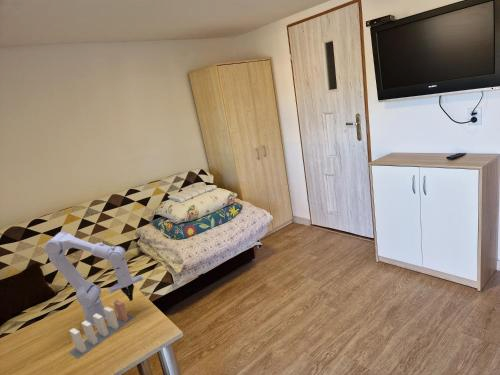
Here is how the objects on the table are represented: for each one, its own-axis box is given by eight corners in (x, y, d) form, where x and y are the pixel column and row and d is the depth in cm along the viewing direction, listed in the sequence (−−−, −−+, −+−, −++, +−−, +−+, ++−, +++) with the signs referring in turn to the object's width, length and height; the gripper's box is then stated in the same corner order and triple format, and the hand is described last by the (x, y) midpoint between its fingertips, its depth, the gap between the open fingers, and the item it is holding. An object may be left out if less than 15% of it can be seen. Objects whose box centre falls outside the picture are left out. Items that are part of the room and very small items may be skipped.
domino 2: (87, 341, 144) (81, 323, 141) (91, 338, 145) (85, 320, 142) (94, 344, 140) (87, 326, 138) (98, 341, 142) (91, 323, 139)
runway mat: (68, 353, 139) (68, 352, 139) (125, 313, 159) (125, 312, 159) (78, 359, 134) (78, 358, 134) (135, 317, 154) (135, 317, 154)
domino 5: (119, 319, 155) (113, 302, 152) (122, 316, 156) (117, 299, 154) (125, 322, 152) (119, 304, 149) (128, 319, 153) (123, 302, 150)
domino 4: (109, 326, 151) (103, 308, 148) (112, 323, 152) (106, 306, 150) (115, 329, 148) (109, 311, 145) (119, 326, 149) (113, 309, 147)
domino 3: (98, 333, 147) (92, 315, 145) (102, 330, 149) (96, 313, 146) (105, 336, 144) (98, 318, 142) (108, 334, 146) (102, 316, 143)
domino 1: (76, 349, 140) (69, 330, 137) (80, 346, 141) (73, 328, 139) (82, 353, 137) (75, 334, 134) (86, 350, 138) (79, 331, 136)
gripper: (136, 264, 159) (144, 289, 163) (104, 277, 153) (113, 303, 156) (140, 269, 154) (148, 295, 157) (107, 283, 147) (116, 310, 150)
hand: (131, 299), depth 156 cm, fingers closed
